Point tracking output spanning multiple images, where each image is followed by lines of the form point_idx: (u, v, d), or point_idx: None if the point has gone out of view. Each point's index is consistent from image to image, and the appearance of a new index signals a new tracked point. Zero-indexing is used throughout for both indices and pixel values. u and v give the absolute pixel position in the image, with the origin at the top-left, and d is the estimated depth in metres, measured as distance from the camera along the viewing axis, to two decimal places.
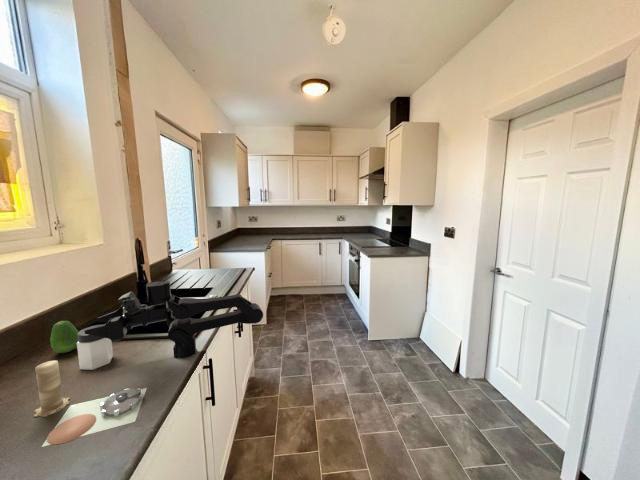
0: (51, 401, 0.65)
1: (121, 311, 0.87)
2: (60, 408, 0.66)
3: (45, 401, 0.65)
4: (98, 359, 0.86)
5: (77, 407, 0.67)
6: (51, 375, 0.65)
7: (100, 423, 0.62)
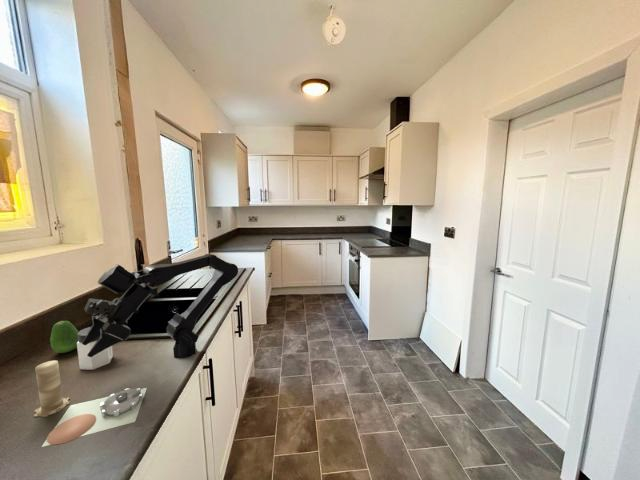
0: (51, 401, 0.65)
1: (99, 321, 0.77)
2: (60, 408, 0.66)
3: (45, 401, 0.65)
4: (98, 359, 0.86)
5: (77, 407, 0.67)
6: (51, 375, 0.65)
7: (100, 423, 0.62)
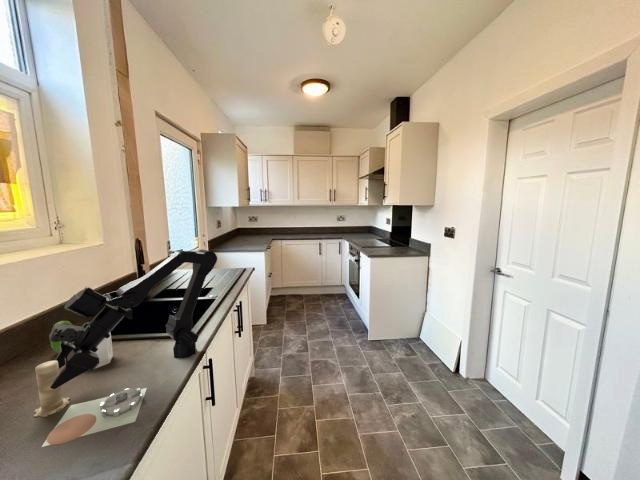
0: (51, 401, 0.65)
1: (68, 346, 0.72)
2: (60, 408, 0.66)
3: (45, 401, 0.65)
4: None
5: (77, 407, 0.67)
6: (51, 375, 0.65)
7: (100, 423, 0.62)
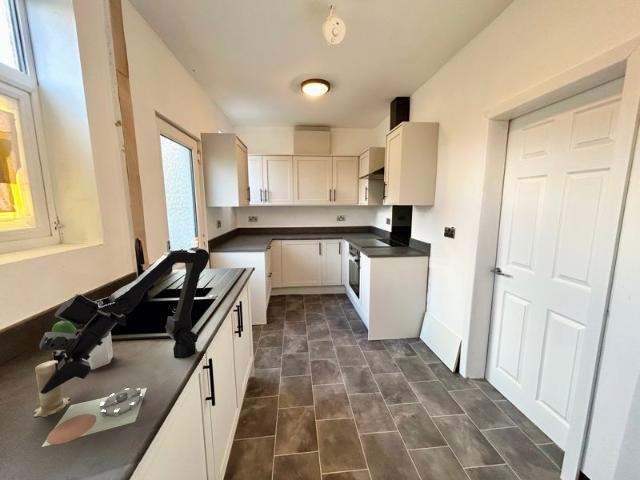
0: (51, 401, 0.65)
1: (60, 357, 0.70)
2: (60, 408, 0.66)
3: (45, 401, 0.65)
4: (98, 359, 0.86)
5: (77, 407, 0.67)
6: (51, 375, 0.65)
7: (100, 423, 0.62)
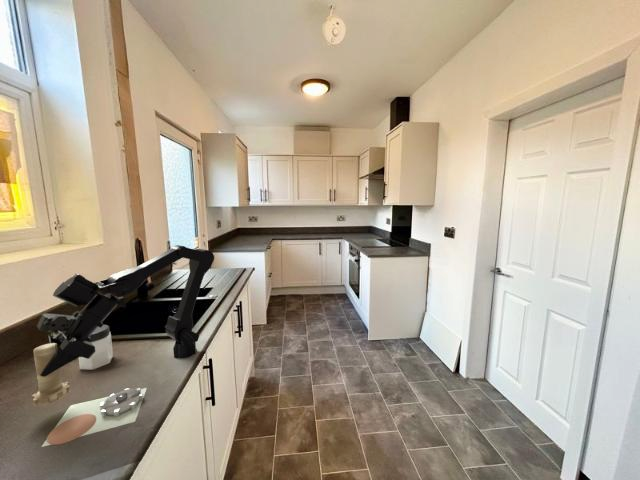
0: (51, 385, 0.63)
1: (58, 340, 0.67)
2: (61, 391, 0.64)
3: (45, 385, 0.62)
4: (98, 359, 0.86)
5: (77, 407, 0.67)
6: (51, 357, 0.63)
7: (100, 423, 0.62)
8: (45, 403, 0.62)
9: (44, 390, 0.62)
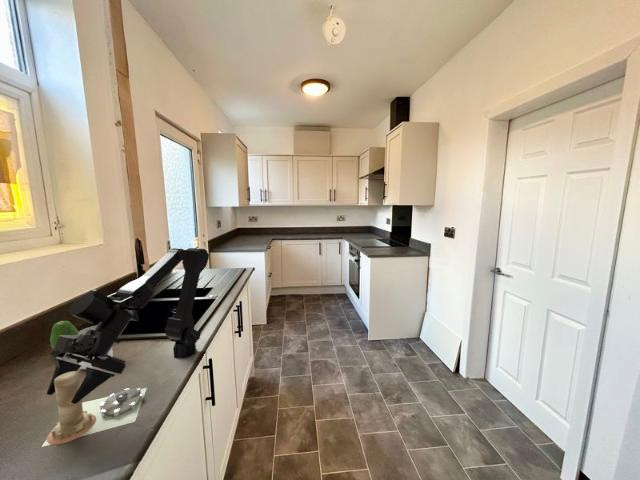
0: (76, 415, 0.60)
1: (66, 361, 0.63)
2: (86, 420, 0.61)
3: (70, 416, 0.59)
4: None
5: None
6: (76, 385, 0.59)
7: (100, 423, 0.62)
8: (73, 435, 0.58)
9: (69, 422, 0.59)
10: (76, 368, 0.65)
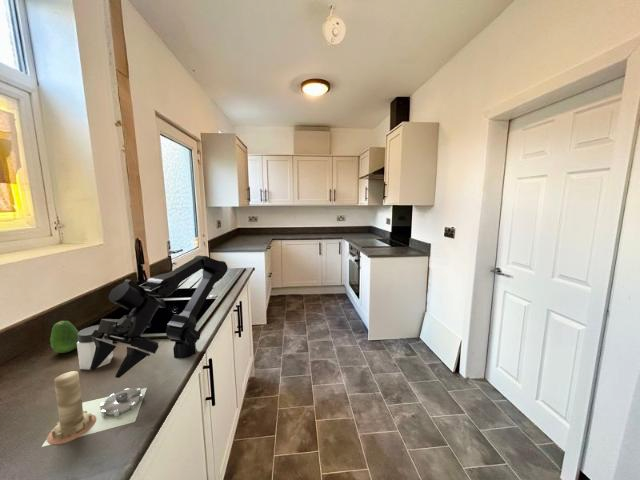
0: (76, 415, 0.60)
1: (104, 342, 0.71)
2: (86, 420, 0.61)
3: (70, 416, 0.59)
4: None
5: None
6: (76, 385, 0.59)
7: (100, 423, 0.62)
8: (73, 435, 0.58)
9: (69, 422, 0.59)
10: (112, 348, 0.73)
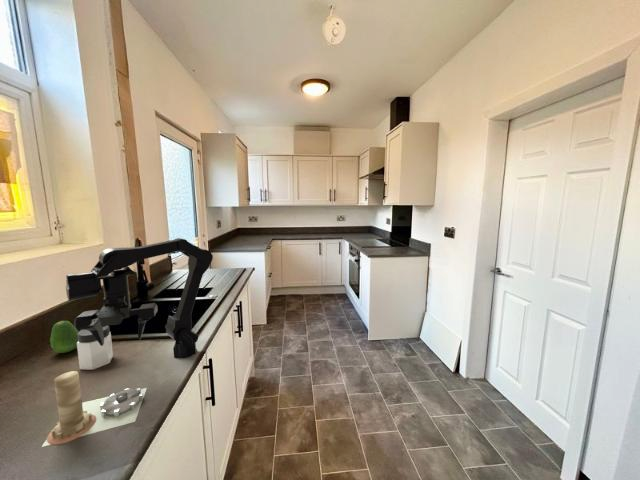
0: (76, 415, 0.60)
1: (96, 324, 0.73)
2: (86, 420, 0.61)
3: (70, 416, 0.59)
4: (98, 359, 0.86)
5: None
6: (76, 385, 0.59)
7: (100, 423, 0.62)
8: (73, 435, 0.58)
9: (69, 422, 0.59)
10: None
